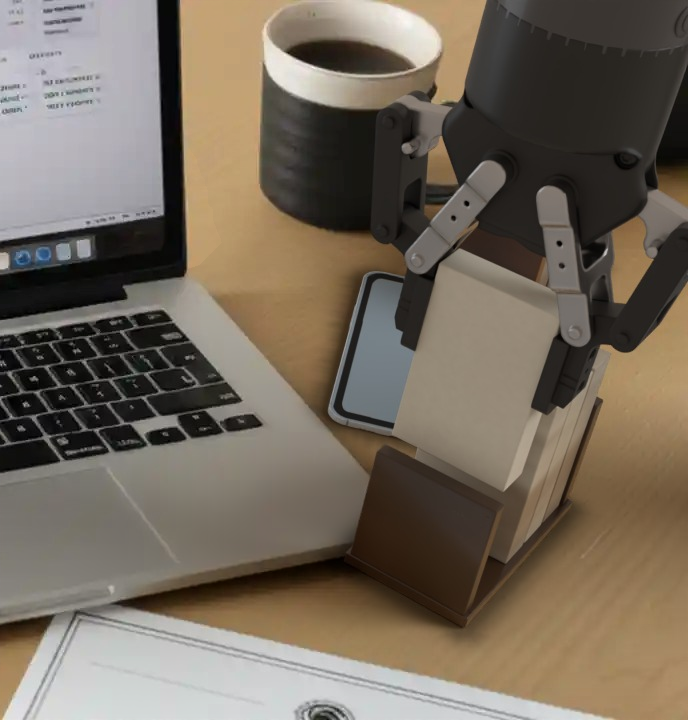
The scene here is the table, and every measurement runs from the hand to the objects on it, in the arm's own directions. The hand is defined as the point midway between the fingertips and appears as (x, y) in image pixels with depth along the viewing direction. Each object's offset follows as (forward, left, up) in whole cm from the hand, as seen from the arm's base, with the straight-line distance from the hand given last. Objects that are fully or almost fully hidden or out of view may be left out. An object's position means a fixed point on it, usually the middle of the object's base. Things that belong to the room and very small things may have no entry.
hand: (481, 370), depth 70 cm
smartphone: (+8, -15, -12) cm, 20 cm away
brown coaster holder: (+8, -27, -11) cm, 30 cm away
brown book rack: (0, -3, -11) cm, 11 cm away
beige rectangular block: (0, 0, -4) cm, 4 cm away
